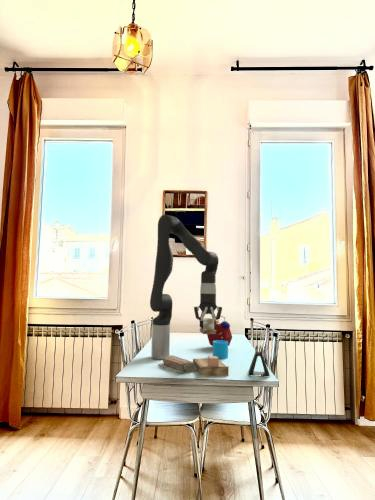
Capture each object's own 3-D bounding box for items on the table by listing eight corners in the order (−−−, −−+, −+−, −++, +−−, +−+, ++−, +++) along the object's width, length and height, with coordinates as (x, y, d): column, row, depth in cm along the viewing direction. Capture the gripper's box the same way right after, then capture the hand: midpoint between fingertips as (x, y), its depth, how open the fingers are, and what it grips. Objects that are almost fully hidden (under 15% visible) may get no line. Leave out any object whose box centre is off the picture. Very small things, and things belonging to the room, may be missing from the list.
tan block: (203, 334, 155) (203, 319, 156) (199, 331, 163) (199, 317, 164) (215, 333, 156) (216, 319, 157) (211, 331, 164) (211, 317, 165)
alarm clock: (232, 349, 201) (232, 315, 202) (223, 351, 194) (223, 316, 196) (213, 345, 211) (213, 313, 213) (204, 347, 204) (204, 314, 206)
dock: (201, 376, 144) (201, 367, 144) (192, 365, 162) (192, 357, 163) (228, 375, 146) (228, 366, 146) (216, 364, 164) (216, 356, 165)
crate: (209, 367, 146) (209, 358, 146) (207, 365, 150) (207, 356, 150) (218, 367, 147) (218, 358, 147) (216, 365, 151) (216, 356, 151)
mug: (226, 359, 175) (226, 343, 176) (211, 358, 178) (211, 342, 178) (230, 354, 187) (230, 339, 188) (215, 353, 189) (215, 338, 190)
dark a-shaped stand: (268, 373, 150) (268, 345, 151) (269, 376, 144) (269, 348, 146) (248, 371, 152) (248, 344, 153) (248, 375, 146) (248, 347, 147)
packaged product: (198, 361, 152) (180, 364, 146) (197, 371, 152) (180, 375, 146) (175, 353, 167) (158, 356, 161) (175, 363, 166) (158, 366, 160)
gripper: (195, 292, 157) (194, 329, 155) (224, 293, 159) (224, 329, 158) (192, 292, 164) (191, 327, 162) (220, 292, 167) (220, 327, 165)
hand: (207, 328), depth 160 cm, fingers closed on tan block, 5 cm apart
